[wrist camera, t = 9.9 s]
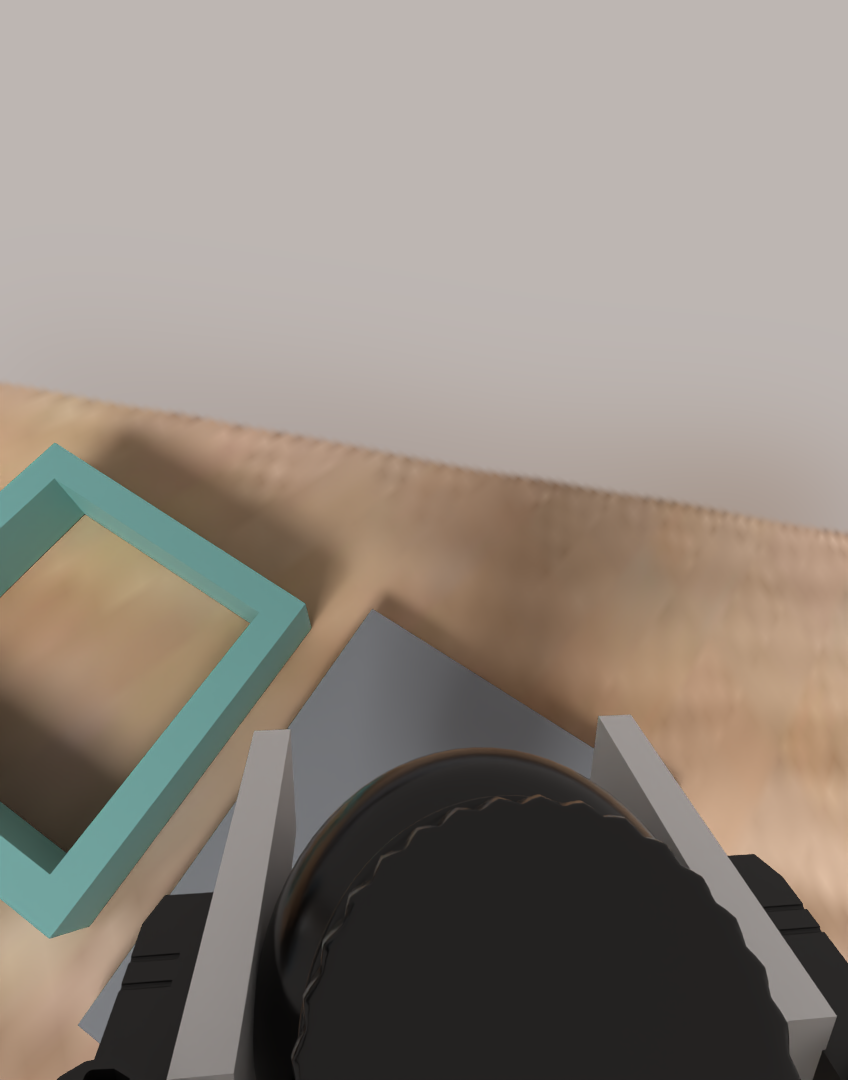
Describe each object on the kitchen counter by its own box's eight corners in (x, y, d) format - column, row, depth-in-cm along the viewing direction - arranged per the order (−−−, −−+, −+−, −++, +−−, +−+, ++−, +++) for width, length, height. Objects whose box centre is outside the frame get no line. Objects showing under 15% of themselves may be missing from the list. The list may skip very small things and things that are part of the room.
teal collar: (-168, 720, 23) (-239, 704, 20) (84, 480, 28) (54, 442, 25) (89, 926, 21) (49, 938, 18) (311, 628, 26) (305, 603, 23)
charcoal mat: (90, 1017, 20) (77, 1025, 19) (372, 616, 27) (372, 608, 26) (467, 1329, 18) (473, 1355, 17) (674, 808, 24) (686, 807, 23)
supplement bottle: (572, 799, 18) (863, 737, 7) (573, 1108, 15) (1069, 1788, 4) (333, 772, 18) (263, 668, 7) (286, 1077, 15) (43, 1694, 4)
